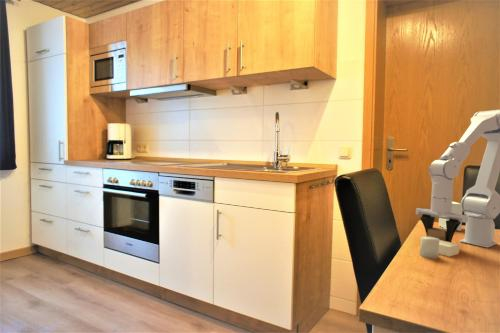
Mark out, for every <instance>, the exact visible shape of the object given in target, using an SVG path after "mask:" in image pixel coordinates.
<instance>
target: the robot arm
mask: <svg viewBox="0 0 500 333" xmlns="http://www.w3.org/2000/svg"><path fill="white" fill-rule="evenodd" d="M480 137H482V138H483V139H484V138H485V139H486V140H487V143H486V147H485V150H484V153H483V157H482V160H481V163H480V168H479V171H478V173H477V174H478V175H477V178H476V181H475V184H474V185H473V186H471V187H469V188H468V189H467V190H466V191H465V194H464V196H463V197H462V199H461V201H460V204H461V208H462V212H463V213H464V214H462V215H461V214H456V213H451V211H452V202H453V196H454V195H453V192H454V182H455V181H454V180H455V178H457V177H458V175H459V174H460V169H461V167H462V163H463V162H464V161H465V160H466V158H467V157H468V156H469V155H470V154H471V147H472V146H473V144H474V143H476V142H477V140H478V139H480ZM428 173H429V176H430V181H431V194H430V195H431V197H430V198H431V200H430V209H429V208H420V207H416V208H415V215H418V216H419V215H420V221H421V223H422V225H423V227H424V230H425V234H426V236H427V233H428V229H429V228H434V223H435V219H436V218H438V219H439V218H443V219H449V220H448V221H446V228H447V235H446V241H447V242H451V243H452V241H453V237H454V235H455V233H456V231H457V230H456V229H457V228H458V226H459V225H460V224H461V222H462V223H465V227H464V228H465V231H464V238H462V239H460V240H459V242H460V243H465V244H469V245H474V246H477V247H483V248H490V247H493V246H495V245H497V244H498V242H497V241H495V240H494V239H495V229H496V228H495V227H496V225H495V222H494V220H495V219H496V218H497V217H498V216H499V215H500V194H499V193H498V191H496V190H495V189H496V186H497V182H498V179H499V175H500V109H492V110H484V111H482V110H479V111H477V112H475V113H474V114H473V116H472V117H471V118H470V125H469V127H467V129H466V131H465V132H464V133H463V135H462V136H461V138H460V139H459V141H455V142H451V143H450V144H449V146H448V148H447V149H446V150H445V151H444V153H442V155H441V156H440V157H439V159H435V160H434V161H432V162H431V164H430V165H429V167H428ZM442 216H446V217H442Z"/></svg>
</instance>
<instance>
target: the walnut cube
mask: <svg viewBox="0 0 500 333" xmlns="http://www.w3.org/2000/svg"><path fill="white" fill-rule="evenodd" d="M446 235H447V230H446V229H444V228H442V227H441V228H440V227H437V226H433V228H429V229H428V233H427V235H426V236H428V237H434V238H438V239H439V240H443V241H446Z"/></svg>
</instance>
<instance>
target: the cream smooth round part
mask: <svg viewBox="0 0 500 333" xmlns="http://www.w3.org/2000/svg"><path fill="white" fill-rule="evenodd" d="M439 255H440V254H439V239H438V238H434V237H428V236H427V235H426V236H424V235H423V236H421V237H420V249H419V256H421V257H423V258H426V259H433V260H437V259H439Z"/></svg>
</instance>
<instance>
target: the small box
mask: <svg viewBox="0 0 500 333" xmlns="http://www.w3.org/2000/svg"><path fill="white" fill-rule="evenodd" d="M451 213H456V214H461V215H463V210H462V208H461V202H457V201H452V211H451ZM442 217H446V216H442ZM448 220H449V219H443V218H438V227H440V226H441V228H442V227H443V228H442V229H446V230H447V228H446V221H448ZM462 223H463V222H461V224H460V225H459V226H458V228H457V229H456V231H460V232H461V231H462V226H463V225H462Z"/></svg>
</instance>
